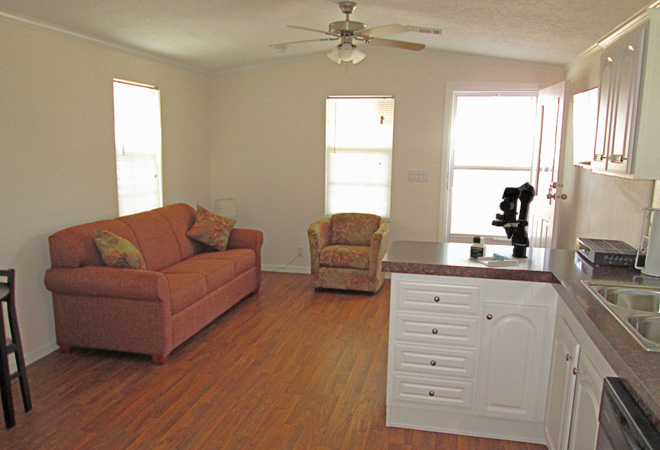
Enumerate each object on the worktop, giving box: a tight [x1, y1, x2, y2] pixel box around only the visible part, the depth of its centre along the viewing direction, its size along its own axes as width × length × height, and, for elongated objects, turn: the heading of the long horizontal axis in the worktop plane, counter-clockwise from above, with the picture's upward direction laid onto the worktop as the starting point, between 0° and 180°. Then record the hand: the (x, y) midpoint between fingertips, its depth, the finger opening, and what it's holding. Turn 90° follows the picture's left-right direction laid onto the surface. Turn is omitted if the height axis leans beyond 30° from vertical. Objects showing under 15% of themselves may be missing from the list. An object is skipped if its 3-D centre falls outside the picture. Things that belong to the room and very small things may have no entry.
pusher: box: [485, 252, 505, 261], centre depth 269 cm, size 8×8×4 cm
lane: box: [476, 255, 519, 267], centre depth 270 cm, size 17×12×2 cm
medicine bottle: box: [469, 235, 487, 260], centre depth 282 cm, size 7×7×12 cm
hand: (508, 239), depth 270 cm, fingers closed
